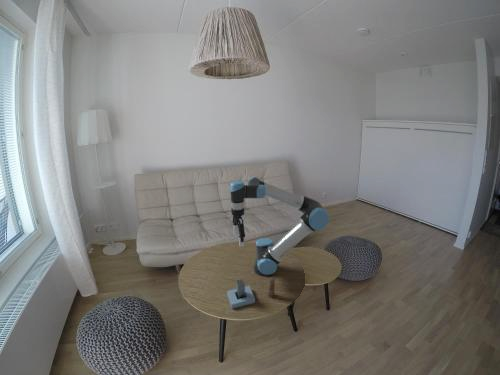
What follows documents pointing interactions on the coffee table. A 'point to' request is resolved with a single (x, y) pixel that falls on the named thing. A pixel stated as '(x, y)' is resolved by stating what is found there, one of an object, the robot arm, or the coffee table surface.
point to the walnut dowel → (271, 287)
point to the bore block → (240, 302)
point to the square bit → (240, 289)
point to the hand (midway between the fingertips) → (238, 240)
